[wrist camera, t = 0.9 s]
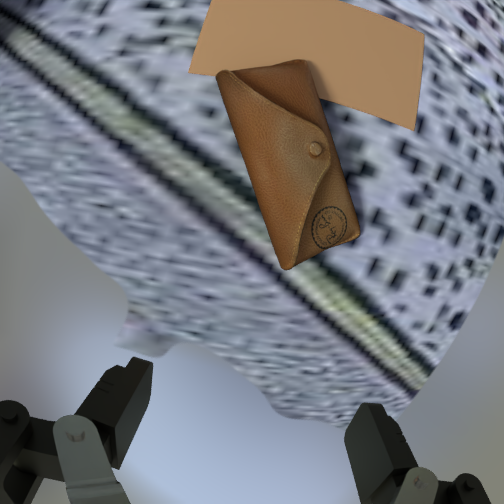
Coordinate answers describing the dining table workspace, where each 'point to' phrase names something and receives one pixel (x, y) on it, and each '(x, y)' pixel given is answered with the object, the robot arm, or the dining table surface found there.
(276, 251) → the sunglasses case
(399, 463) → the robot arm
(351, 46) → the mat
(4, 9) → the dining table surface
